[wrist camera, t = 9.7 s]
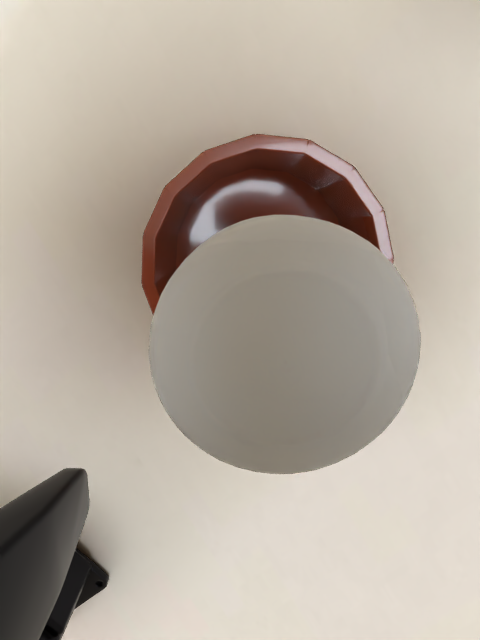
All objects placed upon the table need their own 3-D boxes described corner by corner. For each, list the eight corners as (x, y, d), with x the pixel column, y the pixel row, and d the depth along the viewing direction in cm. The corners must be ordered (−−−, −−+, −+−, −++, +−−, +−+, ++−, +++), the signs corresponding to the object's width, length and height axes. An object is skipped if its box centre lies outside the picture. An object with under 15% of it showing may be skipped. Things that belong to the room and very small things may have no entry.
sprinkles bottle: (196, 288, 19) (104, 431, 6) (230, 203, 18) (204, 159, 5) (277, 321, 20) (349, 520, 7) (314, 240, 18) (490, 287, 6)
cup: (246, 375, 21) (248, 428, 16) (131, 245, 19) (89, 254, 14) (385, 270, 19) (439, 289, 14) (275, 116, 18) (289, 71, 12)
